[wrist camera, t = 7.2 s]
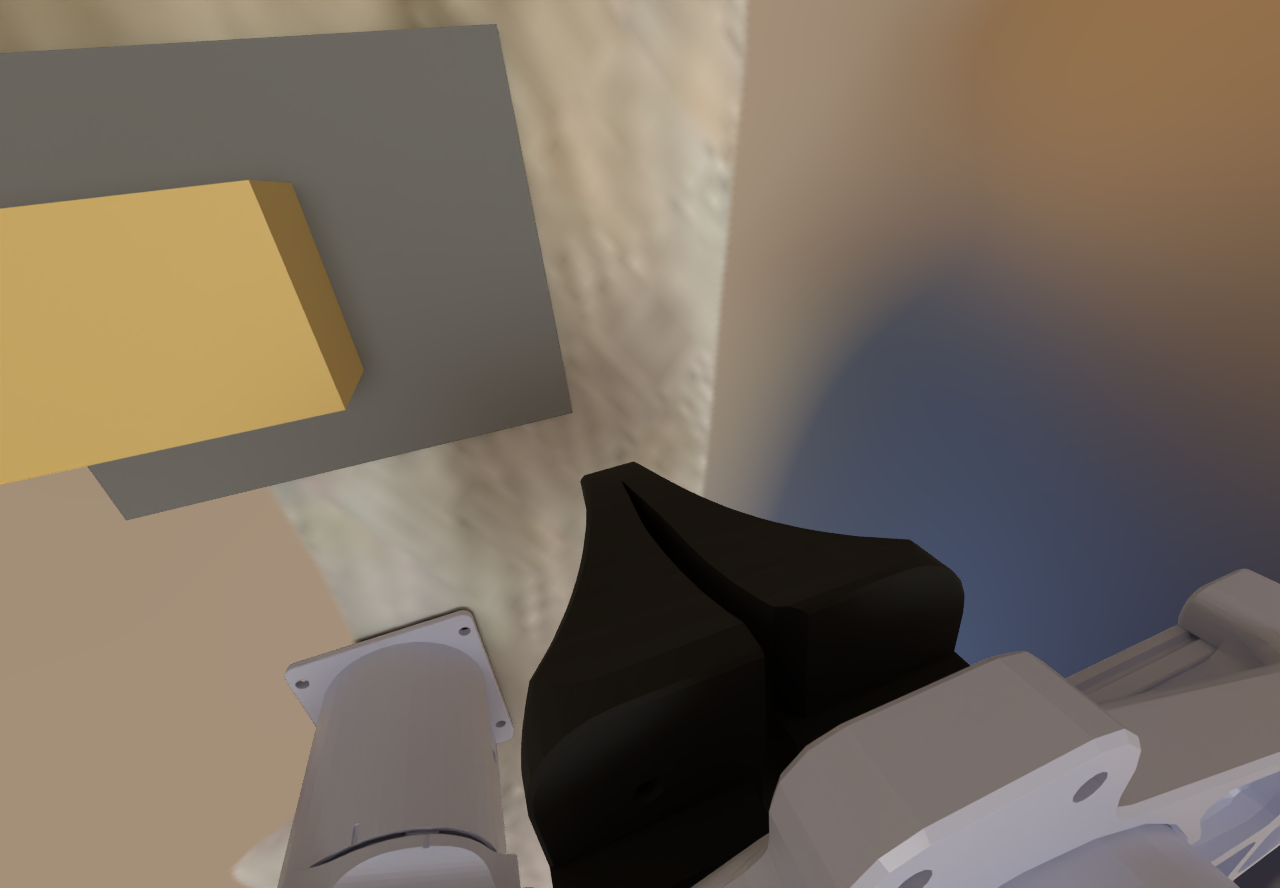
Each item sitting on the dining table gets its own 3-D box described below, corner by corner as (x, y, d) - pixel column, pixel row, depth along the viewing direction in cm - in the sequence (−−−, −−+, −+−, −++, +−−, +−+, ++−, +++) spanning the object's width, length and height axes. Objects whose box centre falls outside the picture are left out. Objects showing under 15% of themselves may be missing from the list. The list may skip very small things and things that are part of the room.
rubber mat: (570, 409, 22) (572, 412, 22) (132, 514, 18) (126, 520, 18) (495, 27, 16) (496, 24, 16) (-184, 68, 12) (-201, 65, 12)
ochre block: (345, 409, 15) (-41, 493, 13) (364, 370, 18) (61, 431, 16) (248, 179, 12) (-264, 239, 10) (291, 183, 16) (-86, 228, 14)
